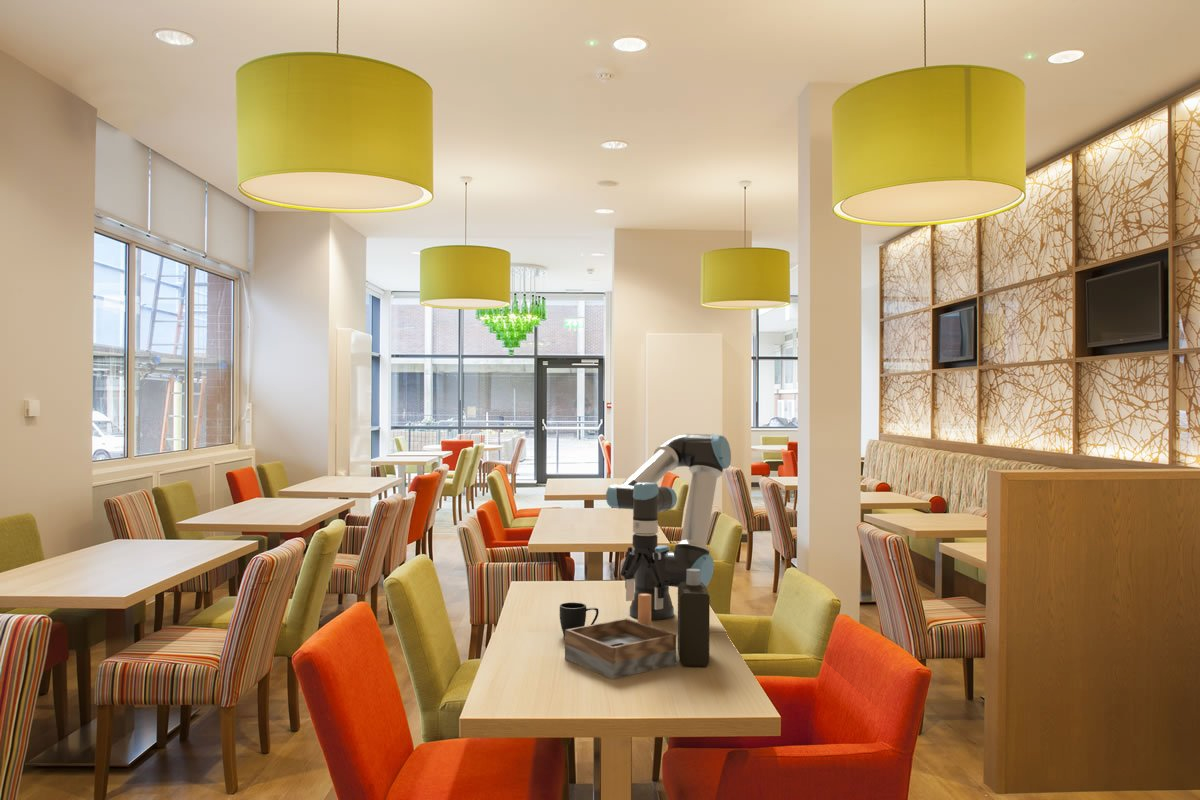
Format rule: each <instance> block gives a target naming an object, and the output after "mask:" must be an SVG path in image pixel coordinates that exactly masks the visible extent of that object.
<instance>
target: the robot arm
mask: <svg viewBox="0 0 1200 800" xmlns="http://www.w3.org/2000/svg"><path fill="white" fill-rule="evenodd" d="M731 461H732V451H731V446H730V443H729V441H728V439H727V438H726V436H724V435H721V434H720V435H719V434H713V433H712V434H707V433H706V434H700V433H699V434H698V433H695V434H693V433H692V434H691V433H685V434H679V435H677V436H674V437H671V438H669V439H668V440H665V442H662V443H661V444H660V445H659V446H658V447H656V449H655V450H654V452H653V455H652V456H651V457H650V458H649V459H648V460H647V461H645V462H644V463H643V464H642V465H641V466H640V467H639V468H637V470H636V471H635V472H633V473H632V474H631V475H630V476H629V477H628V478H627V479H626V480H624V481H623V482H622V484H619V483H617V484H616V483H615V484H610V485H609V486H608V487H607V490H606V493H605V499H606V504H607V505H608V506H609V507H610V508H614V509H619V510H620V509H621V510H622V509H623V510H632V511H633V512H632V533H633V535H632V547H631V546H630V547H627V551H626V553H627V554H626V556H625V560H624V561H623V562H624V563H623V565H622V569H621V570H620V571H621V572H620V576H621V577H624V578H623V579H625V580H624V581H625V582H624V583H625V587H624V588H625V601H626V602H630V601H631V602H630V606H629V615H630V616H631V617H633V618H636V619H638V595H639V594H651V621H652V620H653V621H654V620H665V619H666V620H667V619H670V618H672V617H674V615H675V613H674V612H675V609H674V606H673V601H672V598H671V594H670V587H673V588H678V585H679V584H680V583H681V582H687V569H690V568H691V569H700V582H702V583H703V584H704V585H705V586H706V587H707V586H708V585H709V584H710V582H711V580H712V577H713V573H714V569H715V566H714V563H715V562H714V558H713V556H711V555H710V550H709V548H708V547H707V542H708V536H709V535H708V534H709V528H710V522H711V516H712V511H713V506H714V499H715V492H716V487H717V481H718V478H720V477H722V476H723V471H724V470H726V469H728V468H729V467H730V465H731ZM680 467H688V470H689V472H690V473H691V475H692V476H691V481H690V486H689V494H688V497H687V498H688V499H687V503H686V510H685V514H684V520H683V527H682V531H681V537H680V540H679V542H678V543H676V544H675V546H674V551H672V550H670V546H669V545H664V544H663V545H661V544H660V545H658V537H659V536H658V535H657V534H658V532H659V524H658V523H659V515H658V514H659V513H661V512H667V511H669V510H672V509H673V508H675V506H676V505H677V501H678V497H677V493H676V491H675V490H674V489H673V488H672V487H670V486H659V485H658V482H659V481H660V480H661V479H662V478H663V477H664V476H665V475H666V474H667V473H668V472H671V471H674V470H676V469H677V468H680Z"/></svg>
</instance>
